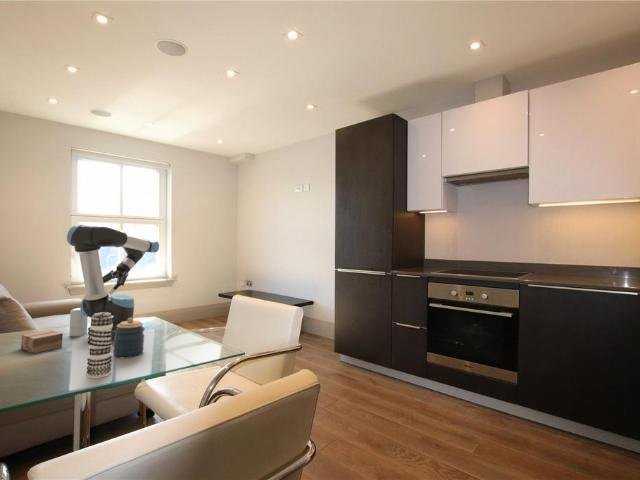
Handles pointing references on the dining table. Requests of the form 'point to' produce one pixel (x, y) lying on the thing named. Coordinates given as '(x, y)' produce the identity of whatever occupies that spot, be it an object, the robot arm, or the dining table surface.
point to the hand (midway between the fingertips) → (101, 292)
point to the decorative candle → (100, 345)
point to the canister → (129, 339)
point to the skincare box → (77, 323)
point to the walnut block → (41, 341)
